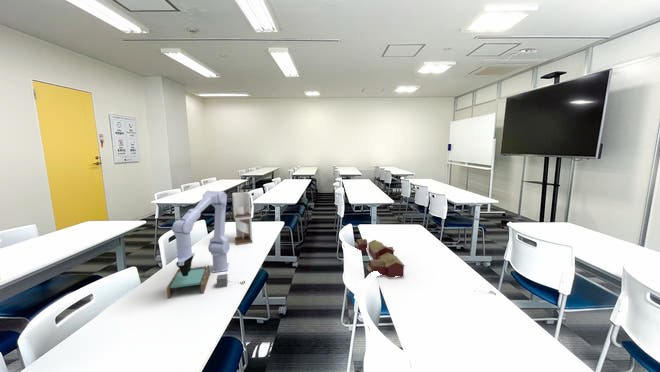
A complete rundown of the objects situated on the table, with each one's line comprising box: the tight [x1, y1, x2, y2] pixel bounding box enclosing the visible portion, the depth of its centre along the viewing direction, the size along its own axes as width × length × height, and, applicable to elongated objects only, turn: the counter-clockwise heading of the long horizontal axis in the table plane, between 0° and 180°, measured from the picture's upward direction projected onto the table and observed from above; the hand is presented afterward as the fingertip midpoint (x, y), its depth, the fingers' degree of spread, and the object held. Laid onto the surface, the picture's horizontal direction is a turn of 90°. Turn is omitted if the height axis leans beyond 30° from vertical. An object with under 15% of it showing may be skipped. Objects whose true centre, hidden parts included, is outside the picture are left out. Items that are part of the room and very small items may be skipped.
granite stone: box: [216, 273, 229, 289], centre depth 128 cm, size 4×4×4 cm
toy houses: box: [353, 238, 405, 278], centre depth 157 cm, size 45×20×10 cm, turn 8°
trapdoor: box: [170, 265, 207, 289], centre depth 127 cm, size 18×12×3 cm
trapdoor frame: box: [166, 264, 211, 300], centre depth 128 cm, size 20×15×5 cm
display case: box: [231, 191, 253, 246], centre depth 185 cm, size 11×11×35 cm
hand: (186, 273), depth 122 cm, fingers open, 3 cm apart
